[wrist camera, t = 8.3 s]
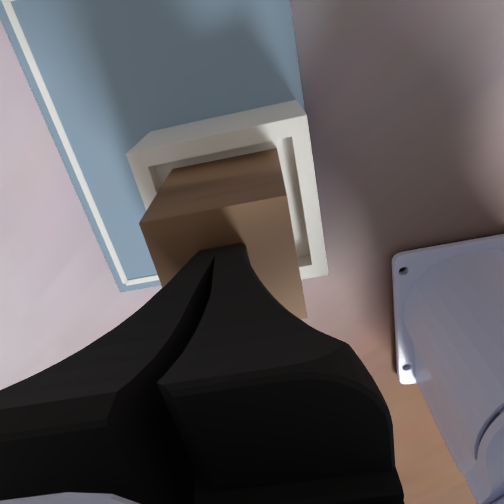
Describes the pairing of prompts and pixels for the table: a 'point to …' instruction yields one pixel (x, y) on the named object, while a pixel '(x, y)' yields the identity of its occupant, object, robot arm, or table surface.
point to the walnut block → (228, 221)
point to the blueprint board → (165, 106)
